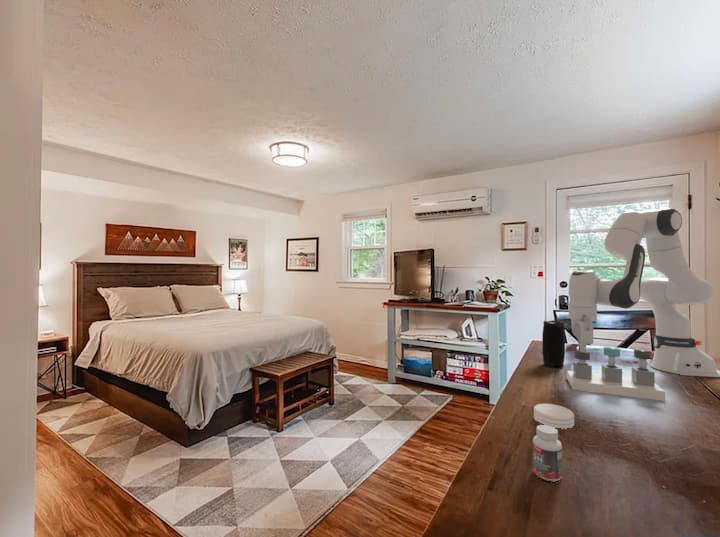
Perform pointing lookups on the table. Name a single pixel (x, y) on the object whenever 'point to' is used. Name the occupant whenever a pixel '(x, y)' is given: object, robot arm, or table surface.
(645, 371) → the mount panel
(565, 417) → the white jar lid
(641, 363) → the near knob
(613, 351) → the teal dial
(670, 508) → the table surface
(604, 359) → the table surface
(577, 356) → the far knob
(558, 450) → the pill bottle
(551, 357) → the portable speaker
